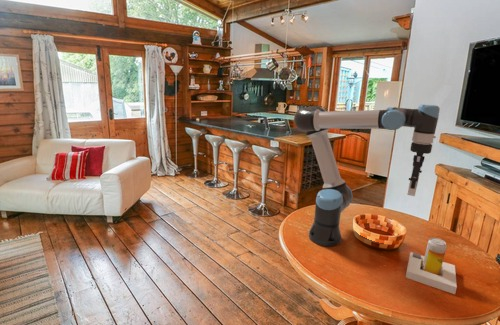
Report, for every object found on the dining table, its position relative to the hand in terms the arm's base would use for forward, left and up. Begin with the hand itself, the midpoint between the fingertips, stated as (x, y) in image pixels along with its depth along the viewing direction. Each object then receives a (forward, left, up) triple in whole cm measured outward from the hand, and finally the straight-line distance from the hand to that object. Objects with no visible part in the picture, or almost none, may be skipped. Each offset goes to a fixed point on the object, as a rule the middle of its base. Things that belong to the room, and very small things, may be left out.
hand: (412, 190), depth 124 cm
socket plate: (+12, -14, -29) cm, 34 cm away
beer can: (+12, -14, -29) cm, 34 cm away
